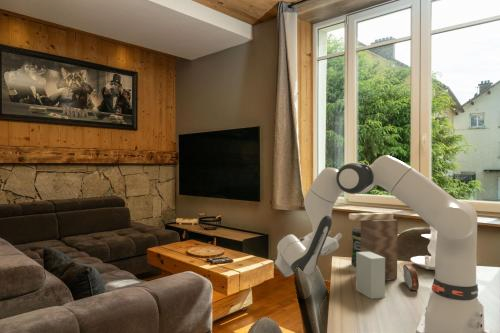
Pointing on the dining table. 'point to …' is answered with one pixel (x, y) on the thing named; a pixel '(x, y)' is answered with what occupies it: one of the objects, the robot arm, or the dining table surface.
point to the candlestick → (427, 260)
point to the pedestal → (370, 274)
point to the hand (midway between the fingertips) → (335, 232)
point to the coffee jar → (356, 244)
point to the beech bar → (370, 216)
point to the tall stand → (381, 242)
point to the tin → (411, 277)
